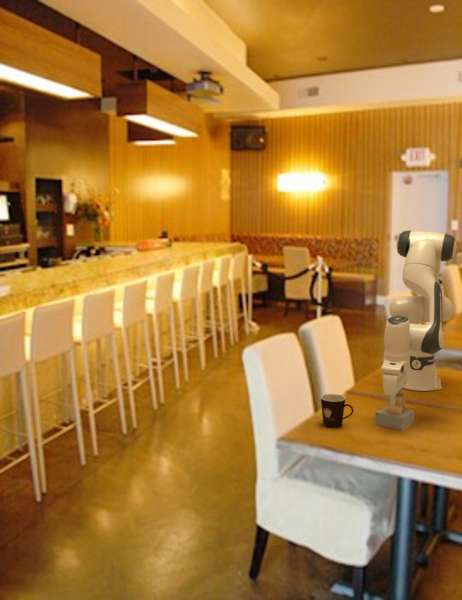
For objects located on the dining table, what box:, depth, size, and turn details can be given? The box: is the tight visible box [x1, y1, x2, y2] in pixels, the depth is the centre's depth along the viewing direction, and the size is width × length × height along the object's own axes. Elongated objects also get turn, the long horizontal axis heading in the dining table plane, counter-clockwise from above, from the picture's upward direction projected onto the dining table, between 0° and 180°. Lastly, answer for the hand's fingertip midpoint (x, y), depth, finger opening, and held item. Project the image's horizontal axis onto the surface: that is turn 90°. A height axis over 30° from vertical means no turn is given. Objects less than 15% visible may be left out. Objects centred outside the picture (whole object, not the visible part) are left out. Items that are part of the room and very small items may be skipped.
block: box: [375, 405, 416, 432], centre depth 212 cm, size 10×10×5 cm
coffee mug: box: [320, 393, 354, 429], centre depth 210 cm, size 12×9×10 cm
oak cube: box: [386, 393, 405, 414], centre depth 212 cm, size 5×5×6 cm
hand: (395, 401), depth 212 cm, fingers open, 6 cm apart
